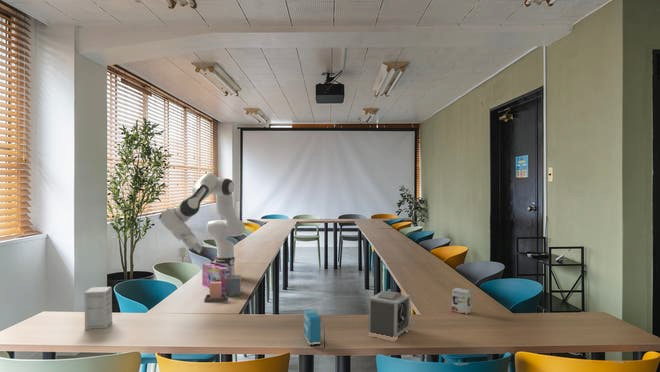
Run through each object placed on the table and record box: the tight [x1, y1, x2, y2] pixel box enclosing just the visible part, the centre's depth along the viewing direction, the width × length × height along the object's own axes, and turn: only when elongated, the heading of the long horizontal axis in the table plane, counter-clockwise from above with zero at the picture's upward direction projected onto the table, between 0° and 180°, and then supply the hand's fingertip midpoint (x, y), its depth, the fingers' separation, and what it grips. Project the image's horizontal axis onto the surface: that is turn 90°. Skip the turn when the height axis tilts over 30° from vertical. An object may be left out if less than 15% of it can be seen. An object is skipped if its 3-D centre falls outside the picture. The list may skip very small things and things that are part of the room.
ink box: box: [451, 287, 472, 312], centre depth 238 cm, size 9×5×12 cm, turn 47°
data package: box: [303, 309, 322, 343], centre depth 195 cm, size 12×4×12 cm, turn 17°
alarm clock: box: [368, 290, 411, 337], centre depth 206 cm, size 18×13×18 cm
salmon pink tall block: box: [209, 282, 222, 298], centre depth 257 cm, size 6×3×9 cm, turn 98°
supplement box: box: [83, 286, 113, 330], centre depth 212 cm, size 10×9×17 cm
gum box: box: [201, 261, 231, 292], centre depth 286 cm, size 24×8×14 cm, turn 44°
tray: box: [204, 293, 227, 303], centre depth 257 cm, size 11×9×2 cm
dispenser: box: [221, 274, 242, 297], centre depth 269 cm, size 16×10×10 cm, turn 98°
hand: (200, 250), depth 256 cm, fingers open, 8 cm apart
